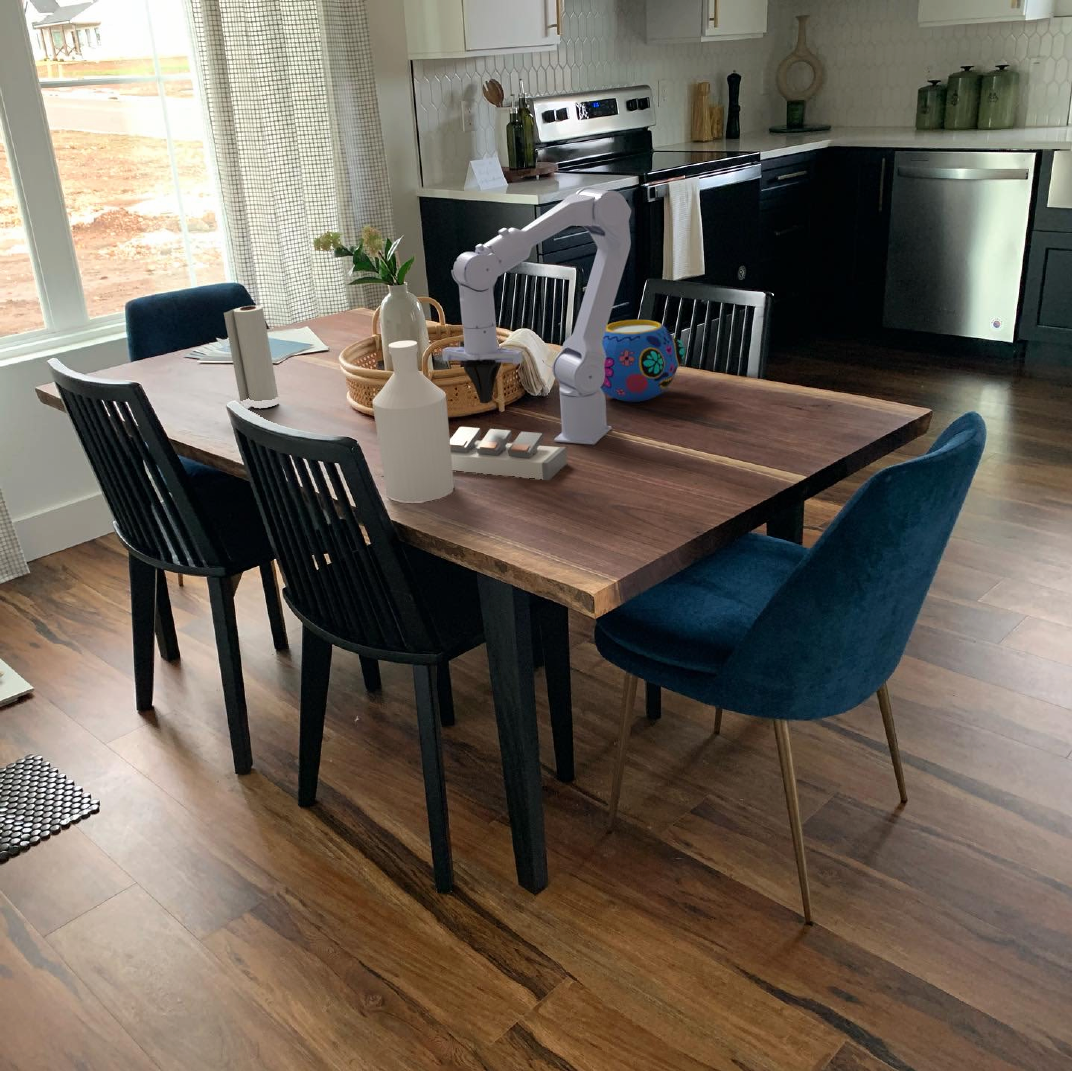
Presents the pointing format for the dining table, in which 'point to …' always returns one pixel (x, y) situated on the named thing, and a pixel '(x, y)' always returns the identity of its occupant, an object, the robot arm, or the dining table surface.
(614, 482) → the dining table surface
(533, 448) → the rocker
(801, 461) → the dining table surface
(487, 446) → the rocker
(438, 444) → the bottle
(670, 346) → the ceramic pot
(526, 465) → the power strip
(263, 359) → the paper towel roll
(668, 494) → the dining table surface
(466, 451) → the block
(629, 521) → the dining table surface
